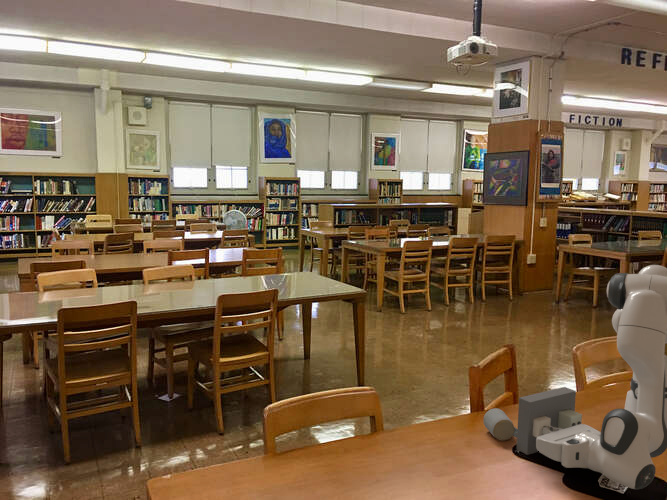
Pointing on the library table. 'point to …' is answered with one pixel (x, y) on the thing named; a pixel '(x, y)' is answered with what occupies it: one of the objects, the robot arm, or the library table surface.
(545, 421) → the one dot button
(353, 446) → the library table surface
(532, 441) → the button panel
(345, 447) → the library table surface
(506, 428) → the ceramic mug
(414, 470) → the library table surface
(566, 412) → the two dot button
